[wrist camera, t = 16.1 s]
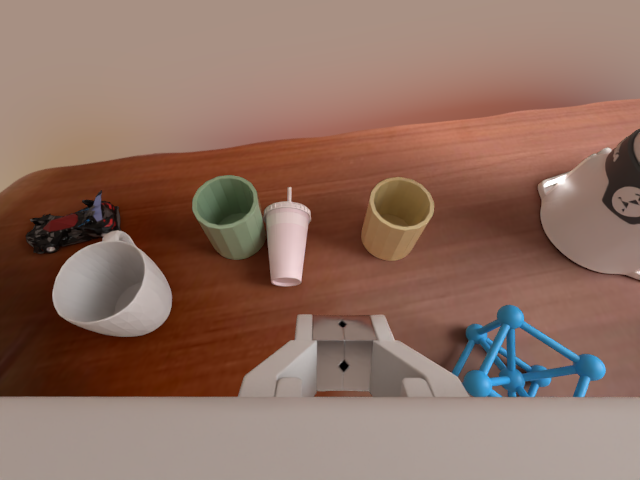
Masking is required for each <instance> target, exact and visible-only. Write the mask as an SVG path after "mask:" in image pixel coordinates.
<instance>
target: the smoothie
mask: <svg viewBox="0 0 640 480" xmlns="http://www.w3.org/2000/svg"><path fill="white" fill-rule="evenodd" d="M263 219H264V222H265V223H266V230H267V241H268V252H269V263H270V275H271V283H272V284H274V285H277V286H295V285H299V284H300V283H301V280H302V272H303V264H304V256H305V248H306V239H307V232H308V224H309V223H310V221H311V212H310V210H309V209H308V208H307V207H306V206H304V205H302V204H299V203H296V202H291V187H288V193H287V202H277V203H273V204H271V205H269V206H268V207H266V209H265V210H264V216H263Z"/></svg>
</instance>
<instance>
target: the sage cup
mask: <svg viewBox="0 0 640 480" xmlns="http://www.w3.org/2000/svg"><path fill="white" fill-rule="evenodd" d="M192 210H193V213H194V214H195V216H196V218H197V220H198V222H199V223H200V225H201V227H202V229H203V230H204V232H205V234H206V235H207V237H208V239H209V240H210V242H211V244H212V245H213V247H214V249H215V250H216V251H217V252H218V253H219V254H220V255H221V256H223V257H225V258H228V259H233V260H240V259H245V258H248V257H250V256H252V255H254V254H255V253H257V252H258V251H259V250H260V249H261V247H262V246H263V244H264V242H265V239H266V227H265V222H264V219H263V214H262V210H261V206H260V202H259V198H258V194H257V191H256V190H255V188H254V186H253V185H252V183H250V182H249V181H247V180H245V179H244V178H242V177H238V176H233V175H226V176H218V177H216V178H213V179H211V180H209V181H207V182H205V183H204V184H203V185H202V186H201V187H200V188H199V189H198V190H197V192H196V194H195V196H194V198H193V200H192Z"/></svg>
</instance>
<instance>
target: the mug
mask: <svg viewBox="0 0 640 480" xmlns="http://www.w3.org/2000/svg"><path fill="white" fill-rule="evenodd" d="M52 299H53V304H54V307H55V309H56V310H57V312H58V314H59V315H60V316H61V317H63V318H64V319H65V320H67V321H69V322H70V323H72V324H75V325H77V326H80V327H82V328H85V329H87V330H91V331H94V332H97V333H101V334H104V335H111V336H118V337H131V336H141V335H144V334H147V333H150V332H152V331H154V330H155V329H157V328H158V327H159V326H161V325H162V324H163V323H164V322H165V320H166V319H167V317H168V316H169V313H170V310H171V307H172V294H171V289H170V287H169V284H168V282H167V280H166V278H165V276H164V275H163V273H162V272H161V271H160V269H159V268H158V267H157V265H156V264H155V263H154V262H153V261H152V260H151V259H150V258H149V257H148V256H147V255H146V254H145V253H144V252H143V251H142V250H140V249H139V248H137V247H136V245H135V244H134V242H133V240H132V239H131V237H130V236H129V235H128V234H126V233H125V232H123V231H119V230H116V231H111V232H109V233H107V234H106V235H105V236H104V237H103V239H102V242H98V243H95V244H92V245H88V246H87V247H85V248H83V249H81V250H79V251H78V252H76V253H75V254H74V255H73V256H71V257H70V258H69V259H68V260H67V261H66V262H65V264H64V265H63V266H62V268H61V269H60V271H59V273H58V275H57V277H56V280H55V283H54V287H53V292H52Z"/></svg>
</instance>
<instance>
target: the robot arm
mask: <svg viewBox="0 0 640 480" xmlns="http://www.w3.org/2000/svg"><path fill="white" fill-rule="evenodd" d="M538 192H539V195H540V197H541V200H542V204H541V211H540V217H541V223H542V226H543V228H544V231H545V233H546V235H547V236H548V238H549V239H550V241H551V242H552V243H553V244H554V246H555V247H556V248H557V249H558V250H559V251H560V252H562V253H563V254H564V255H565V256H566V257H568V258H569V259H571V260H572V261H574V262H575V263H577V264H579V265H581V266H583V267H585V268H588V269H590V270H593V271H597V272H601V273H607V274H623V275H627V276H630V277H633V278H635V279H638V280H640V129H638V130H636V131H635V132H634V133H632V134H631V135H629V136H628V137H626V138H625V139H624V140H622V141H621V142H620V143H619V144H618V145H617V147H616V148H615V149H613V150H611V149H610V148H605V149H603V150H601V151H600V152H598V153H597V154H592V155H590V156H589V157H588V158H586V159H585V160H583V161H582V162H581V163H580V164H579V165H577V166H576V167H575V168H574V169H573V170H572V171H569V172H566V173H563V174H560V175H557V176H554V177H551V178H548V179H546V180H543V181H542V182H541V183H540V184H539V185H538ZM342 390H343V391H370V393H371V395H372V396H373V397H314V395H315V394H316V391H342ZM0 480H640V397H470V396H469V395H468V393H467V391H466V390H465V388H464V386H463V385H462V383H461V381H460V380H459V378H458V377H457V376H456V375H454V374H452V373H451V372H449V371H447V370H446V369H444V368H443V367H441V366H439V365H438V364H436V363H435V362H433V361H431V360H430V359H428V358H426V357H425V356H423V355H422V354H420V353H418V352H417V351H415V350H413V349H412V348H410V347H409V346H407V345H405V344H404V343H402V342H401V341H395V339H394V337H393V335H392V332H391V330H390V327H389V325H388V322H387V320H386V317H385V316H384V315H313V322H312V314H304V315H298V316H297V323H296V332H295V340H290V341H289V342H288V343H287V344H285V345H284V346H283V347H281V348H280V349H279V350H277V351H276V352H275V353H274V354H272V355H271V356H270V357H268V358H267V359H266V360H265V361H263V362H262V363H261V364H259V365H258V366H257V367H255V368H254V369H253V370H252V371H250V372H249V373H248V374H246V375H245V376H244V379H243V382H242V385H241V388H240V392H239V395H238V397H0Z"/></svg>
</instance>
